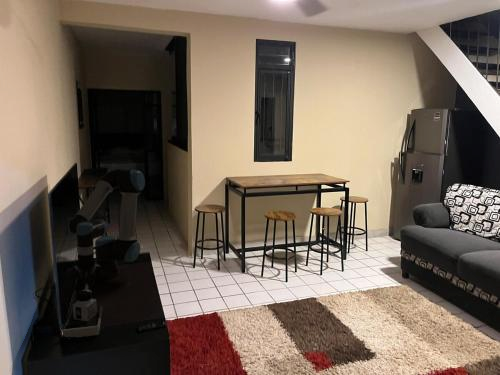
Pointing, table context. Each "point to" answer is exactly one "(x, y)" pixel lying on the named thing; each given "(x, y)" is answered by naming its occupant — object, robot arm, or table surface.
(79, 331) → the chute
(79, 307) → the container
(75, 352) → the table surface
